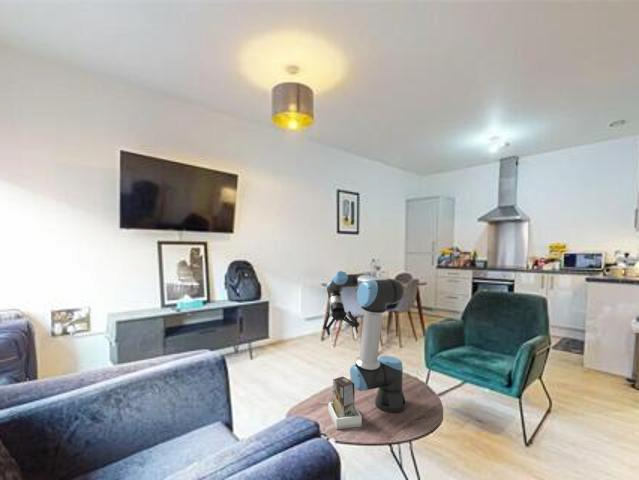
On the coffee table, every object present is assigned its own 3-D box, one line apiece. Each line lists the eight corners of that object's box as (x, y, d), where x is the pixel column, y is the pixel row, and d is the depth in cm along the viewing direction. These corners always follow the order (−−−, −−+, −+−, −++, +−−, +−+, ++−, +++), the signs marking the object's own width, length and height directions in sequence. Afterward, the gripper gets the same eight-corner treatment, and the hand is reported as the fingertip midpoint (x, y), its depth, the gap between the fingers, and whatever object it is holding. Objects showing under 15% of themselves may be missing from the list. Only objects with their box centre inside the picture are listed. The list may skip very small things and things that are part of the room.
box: (351, 408, 156) (351, 399, 156) (361, 426, 141) (361, 416, 141) (328, 411, 153) (328, 402, 153) (336, 429, 139) (336, 419, 139)
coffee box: (355, 418, 145) (355, 383, 145) (344, 422, 142) (344, 386, 142) (343, 409, 153) (343, 375, 153) (332, 413, 150) (332, 379, 150)
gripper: (356, 308, 189) (364, 341, 174) (314, 310, 183) (320, 344, 169) (359, 300, 183) (368, 334, 169) (316, 302, 178) (322, 337, 164)
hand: (344, 339), depth 169 cm, fingers open, 13 cm apart
